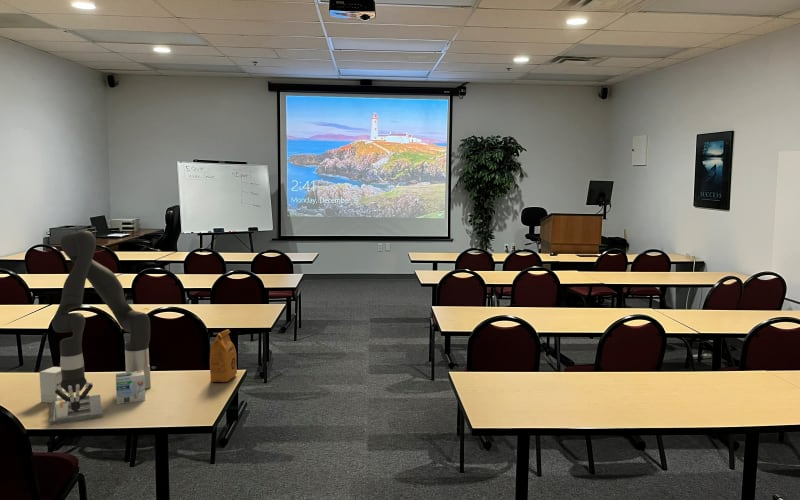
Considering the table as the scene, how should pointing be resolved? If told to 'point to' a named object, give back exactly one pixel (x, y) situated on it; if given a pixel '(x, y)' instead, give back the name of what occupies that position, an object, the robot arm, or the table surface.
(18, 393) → the table surface
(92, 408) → the grey flat slotted panel
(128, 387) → the light bulb box
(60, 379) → the supplement box
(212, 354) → the coffee package
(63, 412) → the block
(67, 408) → the handle
